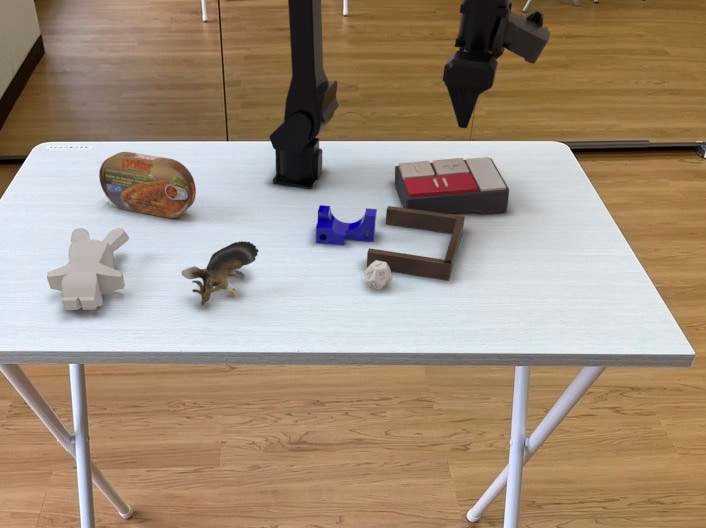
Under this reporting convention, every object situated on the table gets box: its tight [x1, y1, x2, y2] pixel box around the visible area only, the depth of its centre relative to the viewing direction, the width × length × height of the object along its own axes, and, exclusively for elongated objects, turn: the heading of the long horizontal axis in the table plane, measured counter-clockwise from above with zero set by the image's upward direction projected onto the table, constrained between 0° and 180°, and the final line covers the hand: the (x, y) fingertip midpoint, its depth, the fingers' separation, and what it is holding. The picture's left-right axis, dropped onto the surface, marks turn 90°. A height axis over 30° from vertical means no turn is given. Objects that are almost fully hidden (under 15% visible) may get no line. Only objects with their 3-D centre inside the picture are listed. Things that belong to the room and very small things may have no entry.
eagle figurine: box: [180, 240, 259, 306], centre depth 98 cm, size 8×7×9 cm
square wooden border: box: [366, 205, 466, 282], centre depth 106 cm, size 11×13×2 cm
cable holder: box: [315, 204, 378, 246], centre depth 108 cm, size 8×4×4 cm, turn 80°
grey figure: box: [46, 227, 130, 311], centre depth 100 cm, size 10×5×15 cm
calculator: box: [394, 156, 510, 215], centre depth 117 cm, size 11×4×15 cm
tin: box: [98, 151, 197, 219], centre depth 114 cm, size 15×3×8 cm, turn 68°
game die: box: [363, 260, 393, 290], centre depth 100 cm, size 4×4×3 cm
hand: (467, 114), depth 107 cm, fingers open, 9 cm apart
